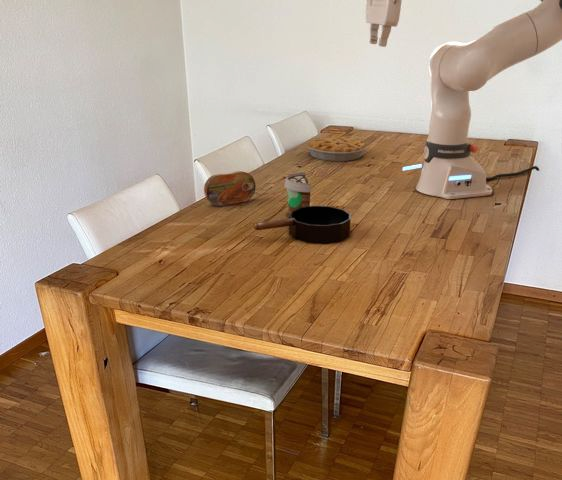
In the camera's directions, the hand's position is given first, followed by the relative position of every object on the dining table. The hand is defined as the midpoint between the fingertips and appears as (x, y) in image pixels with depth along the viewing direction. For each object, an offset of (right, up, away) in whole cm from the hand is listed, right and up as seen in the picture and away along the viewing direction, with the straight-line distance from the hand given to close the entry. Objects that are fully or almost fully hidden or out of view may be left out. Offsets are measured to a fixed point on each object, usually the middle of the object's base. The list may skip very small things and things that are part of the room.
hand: (377, 45), depth 153 cm
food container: (-21, -44, +4) cm, 49 cm away
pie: (-5, -6, +62) cm, 62 cm away
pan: (-20, -52, -8) cm, 57 cm away
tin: (-40, -38, +13) cm, 57 cm away
